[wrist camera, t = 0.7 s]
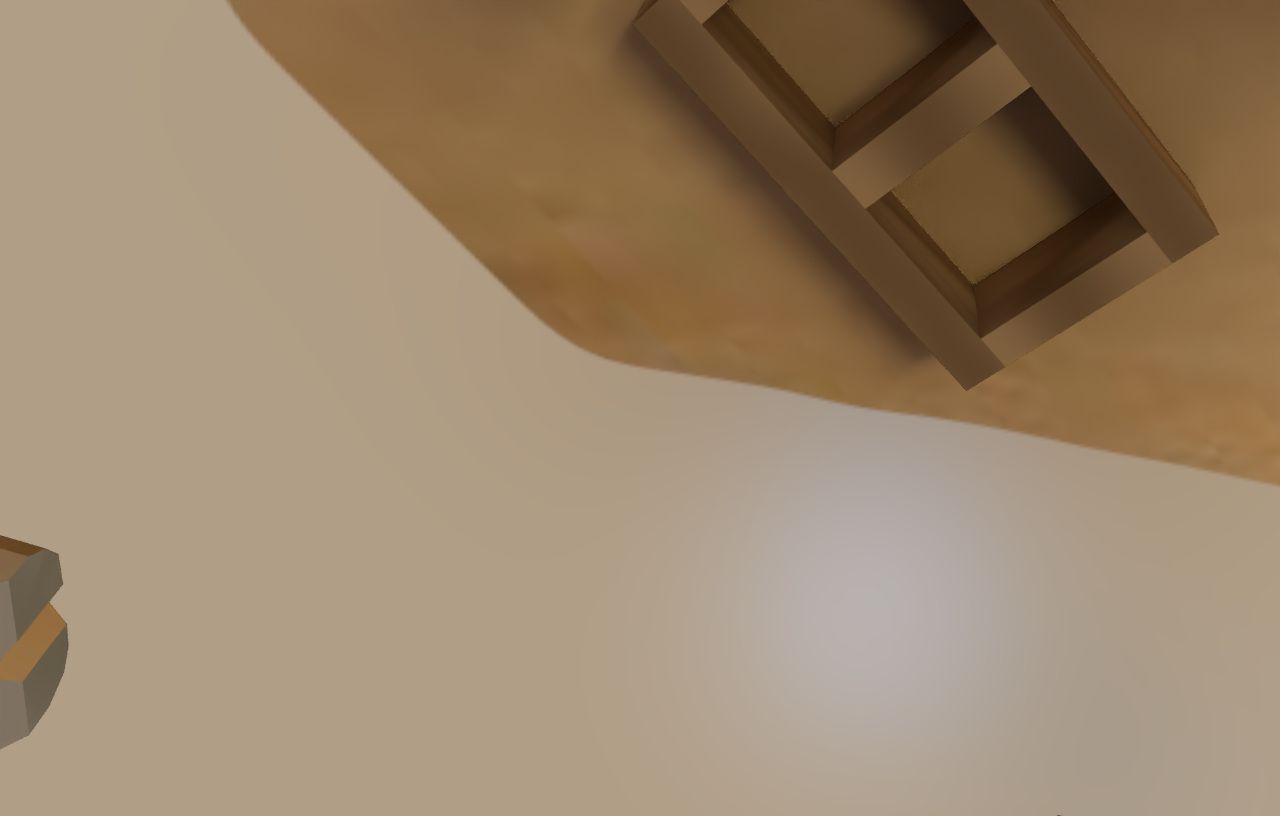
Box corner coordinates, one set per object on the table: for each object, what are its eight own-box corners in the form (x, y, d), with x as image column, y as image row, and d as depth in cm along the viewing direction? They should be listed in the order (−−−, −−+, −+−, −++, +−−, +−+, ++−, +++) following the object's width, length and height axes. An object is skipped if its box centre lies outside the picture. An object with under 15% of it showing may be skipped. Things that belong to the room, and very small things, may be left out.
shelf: (878, -226, 38) (878, -208, 35) (1193, 185, 44) (1219, 234, 41) (651, -9, 43) (632, 24, 40) (960, 336, 49) (966, 390, 46)
